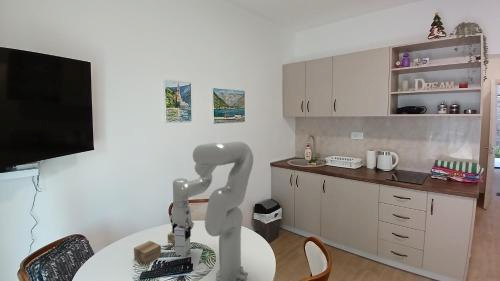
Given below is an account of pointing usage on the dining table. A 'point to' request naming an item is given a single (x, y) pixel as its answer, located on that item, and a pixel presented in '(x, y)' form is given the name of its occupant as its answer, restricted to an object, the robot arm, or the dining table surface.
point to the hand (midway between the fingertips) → (181, 234)
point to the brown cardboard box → (147, 252)
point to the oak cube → (171, 238)
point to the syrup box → (181, 241)
